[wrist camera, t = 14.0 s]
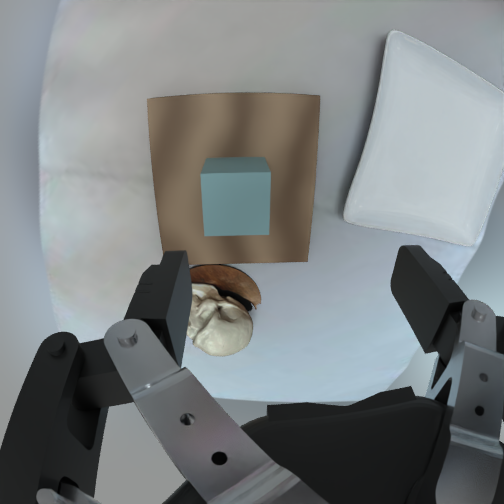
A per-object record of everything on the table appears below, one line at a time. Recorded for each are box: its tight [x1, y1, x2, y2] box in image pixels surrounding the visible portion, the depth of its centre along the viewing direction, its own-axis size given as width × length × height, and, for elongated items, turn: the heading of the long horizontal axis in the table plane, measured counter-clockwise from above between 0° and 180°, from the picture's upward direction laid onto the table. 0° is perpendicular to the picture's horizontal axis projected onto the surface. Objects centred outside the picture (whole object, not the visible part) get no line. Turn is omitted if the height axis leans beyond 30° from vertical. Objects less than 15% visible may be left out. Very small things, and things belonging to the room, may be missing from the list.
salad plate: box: [343, 30, 504, 246], centre depth 29 cm, size 21×21×3 cm
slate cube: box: [200, 157, 271, 236], centre depth 28 cm, size 6×6×6 cm
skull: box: [187, 265, 261, 356], centre depth 38 cm, size 12×10×10 cm
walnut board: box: [147, 93, 320, 265], centre depth 31 cm, size 16×18×2 cm
